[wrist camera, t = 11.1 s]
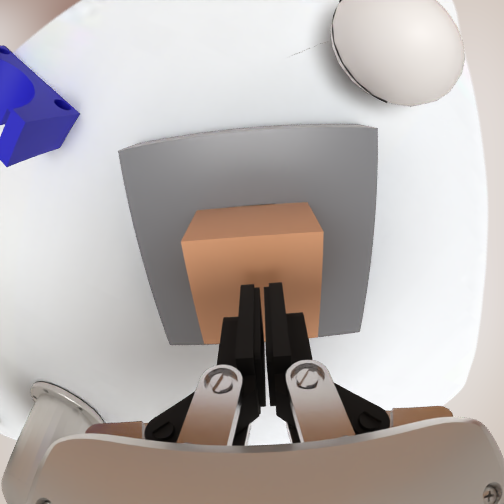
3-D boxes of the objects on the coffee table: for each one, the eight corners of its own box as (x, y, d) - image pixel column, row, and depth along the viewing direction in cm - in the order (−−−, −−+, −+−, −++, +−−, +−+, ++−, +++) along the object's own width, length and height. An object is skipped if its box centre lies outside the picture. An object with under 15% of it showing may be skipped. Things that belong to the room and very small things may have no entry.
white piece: (411, 10, 12) (474, -17, 5) (425, 107, 15) (498, 118, 9) (265, 0, 13) (272, -56, 6) (281, 108, 16) (301, 106, 9)
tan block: (300, 271, 21) (317, 337, 15) (216, 276, 21) (204, 344, 15) (299, 188, 18) (323, 231, 12) (204, 195, 18) (180, 241, 12)
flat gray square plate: (349, 307, 23) (359, 331, 20) (177, 319, 23) (169, 344, 21) (358, 124, 16) (377, 128, 14) (137, 143, 17) (118, 150, 14)
